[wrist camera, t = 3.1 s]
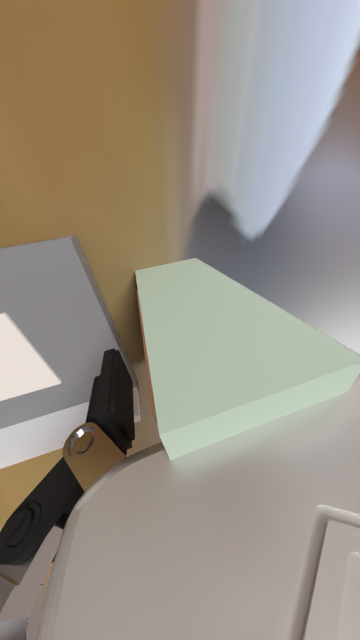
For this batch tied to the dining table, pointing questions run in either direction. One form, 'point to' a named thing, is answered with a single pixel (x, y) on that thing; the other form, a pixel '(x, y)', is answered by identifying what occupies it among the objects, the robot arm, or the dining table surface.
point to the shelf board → (49, 346)
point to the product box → (228, 356)
